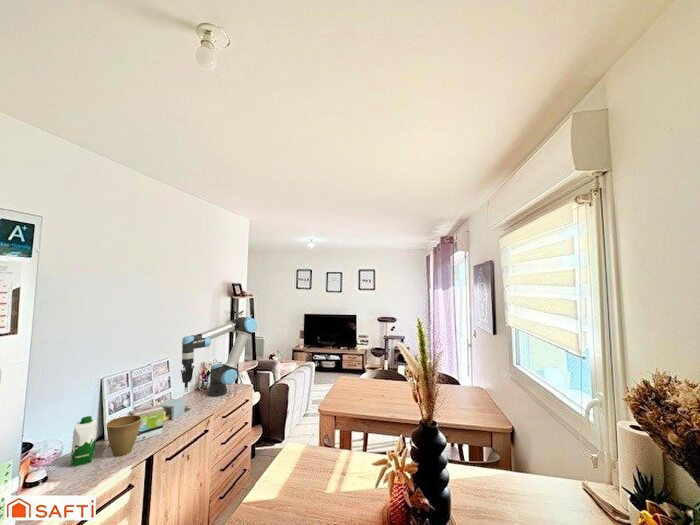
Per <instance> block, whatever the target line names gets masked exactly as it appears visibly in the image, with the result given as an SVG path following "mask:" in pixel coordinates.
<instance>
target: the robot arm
mask: <svg viewBox="0 0 700 525" xmlns="http://www.w3.org/2000/svg"><path fill="white" fill-rule="evenodd" d="M257 329H258V323H257V320H256V319H255V318H252V317H247V316H246V317H245V316H241V317H236V318H234V319H232V320H230V321H228V322H227V323H224V324H222V325H219V326H216V327H214V328H211V329H208V330H206V331H203V332H200V333H197V334H193V335H192V334H191V335H188V336H183V337H182V341H181V342H182V344H181V364H182V365H183V366H182V369H180V374H181V380H182V383H184V392H185V393H186V392H187V393H189V392H190V385H191V384H190V383H191V382H192V380H193V375H194V374H193V373H194V369H195V365H193V364H194V362H195V361H194V355H195V353H194V352H195V351H194V350H197V349H202V348H209V347H210V346H211V343H212V339H215V338H218V337H221V336H223V335H225V334H226V335H227V333H231V332H232V333H233V332H237V336H236V339H235V341H234V343H233V346H232V348H231V350H230V352H229V355H228V358H227V360H226V362H225V363H218V364H213V365H211V366H210V373H209V374H210V377H209V385H208V389H207V390H206V391H207V392H206V395H207V396H208V397H219V396H224V395H226V394H227V393H228V387H227V385H232V384H234V382H236V381H237V378H238V363H239V361H240V359H241V356H242V353H243V351H244V349H245V346H246V344H247V341H248V339H249V337H251V336H252V334H253V333H254V332H255V331H256V330H257Z"/></svg>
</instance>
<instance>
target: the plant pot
mask: <svg viewBox="0 0 700 525" xmlns="http://www.w3.org/2000/svg"><path fill="white" fill-rule="evenodd" d="M141 419H142V417H141V416H138V415H130V416H129V415H124V416H119V417H116V418H114V419H112V420H110V421H107V423H106V432H107V433H106V434H107V439H108V443H109V446H110V450H111V453H112V454H113V456H114V457H122V456H126V455H128V454H130V453H131V452H132V450H133V447H134V445H135V443H136V442H135V440H136V438H137V435H138V431H139V428H140V423H141Z"/></svg>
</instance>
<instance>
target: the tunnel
mask: <svg viewBox="0 0 700 525" xmlns="http://www.w3.org/2000/svg"><path fill="white" fill-rule="evenodd" d="M158 405H159V406H161V407H162V408H164V411H166V414H165V416H166V415H168V414H170V413H171V412H172V417H170V418H168V419H167V420H165V421H164V422H163V423H165V422H166V421H168V420H170V419H171V420H170V421H175V420H177V419H178V418H179V417H181V416H183V415H184V414H186V413H187V412H188V411H190V410H191V409H192V408H191V407H190V406H189V405H186V399H181V398H180V399H179V398H169V399H168V400H166V401H165V402H163V403H160V404H158Z"/></svg>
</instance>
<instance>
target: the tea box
mask: <svg viewBox="0 0 700 525" xmlns="http://www.w3.org/2000/svg"><path fill="white" fill-rule="evenodd" d="M159 405H160V404H156V405H151V406H148V407H143V408H140V409H135V410H131V411H129V415H128V416H130V415H138V416H141V417H142V419H141V423H140V428H139V431H138V435H137V438H136V440H135V443H137V442H139V441H144V440H146V439H150V438H153V437H156V436H159V435H160V436H161V435H162V434H163V433H164V432H163V431H164V422H163V420H164V408H162V407H161V406H159Z"/></svg>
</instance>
